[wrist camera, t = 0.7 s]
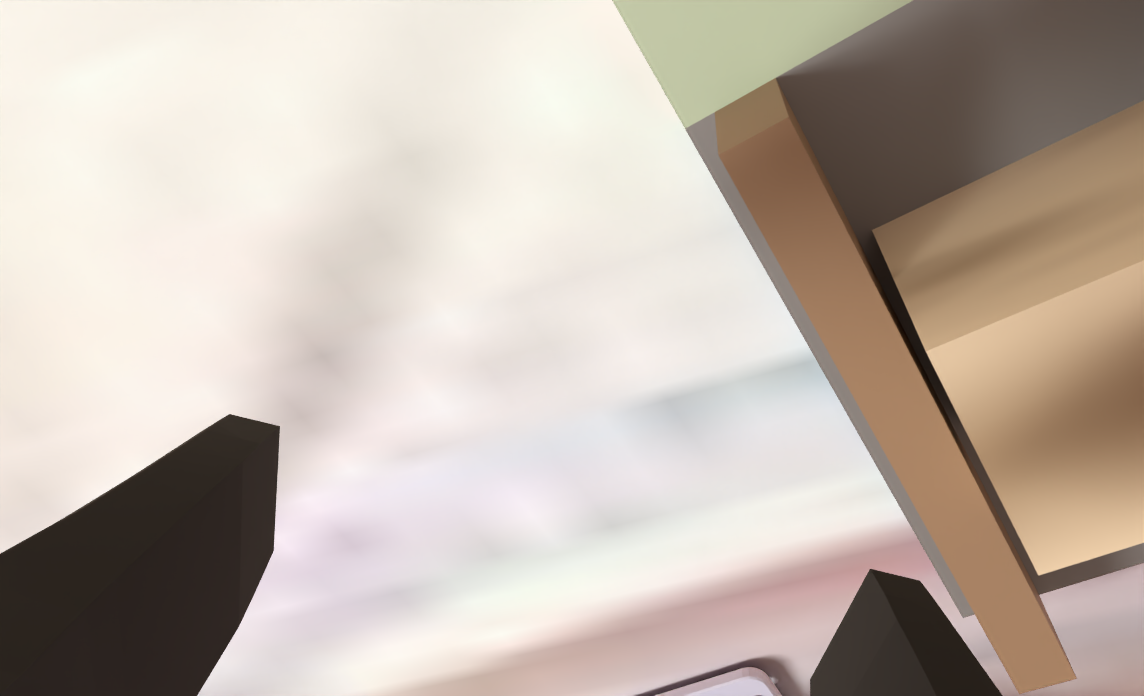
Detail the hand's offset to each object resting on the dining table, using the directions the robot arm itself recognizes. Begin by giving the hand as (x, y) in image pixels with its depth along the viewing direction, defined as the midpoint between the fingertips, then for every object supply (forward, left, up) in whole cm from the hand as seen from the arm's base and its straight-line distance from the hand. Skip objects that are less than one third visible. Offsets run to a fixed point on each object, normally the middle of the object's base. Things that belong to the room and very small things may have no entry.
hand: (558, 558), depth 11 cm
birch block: (-4, -7, -8) cm, 12 cm away
